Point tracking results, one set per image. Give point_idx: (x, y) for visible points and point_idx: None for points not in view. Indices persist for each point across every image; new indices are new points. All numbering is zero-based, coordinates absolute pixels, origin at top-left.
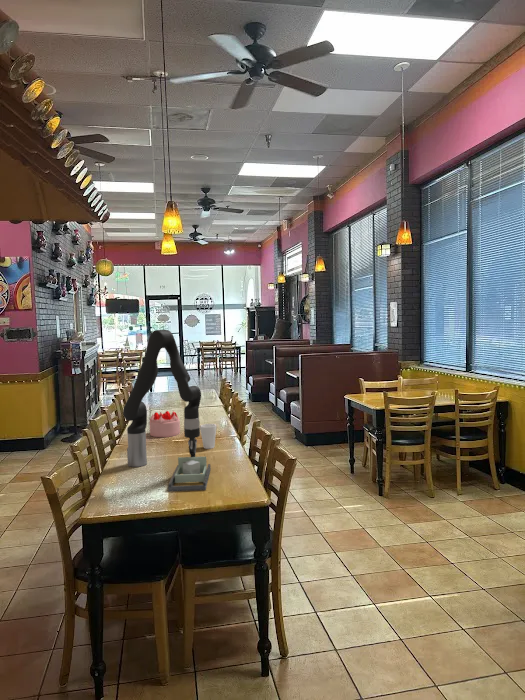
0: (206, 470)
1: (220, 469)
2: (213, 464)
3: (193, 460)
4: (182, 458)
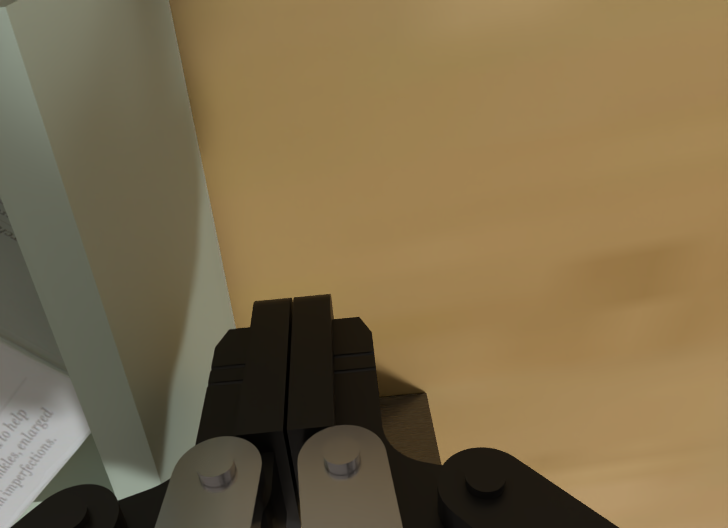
0: None
1: None
2: (696, 406)
3: (71, 440)
4: (14, 180)
